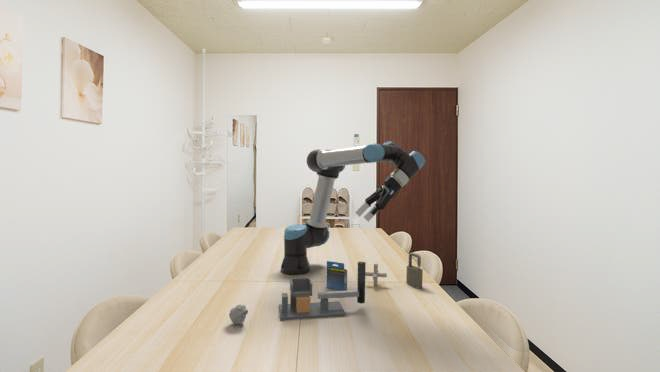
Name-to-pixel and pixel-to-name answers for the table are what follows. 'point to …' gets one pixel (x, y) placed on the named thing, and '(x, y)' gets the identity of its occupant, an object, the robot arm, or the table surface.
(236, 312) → the grey lumpy piece
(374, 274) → the pipe connector
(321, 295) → the rod with black post
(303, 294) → the frame
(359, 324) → the table surface
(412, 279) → the padlock
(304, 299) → the block
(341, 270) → the label tape cartridge
